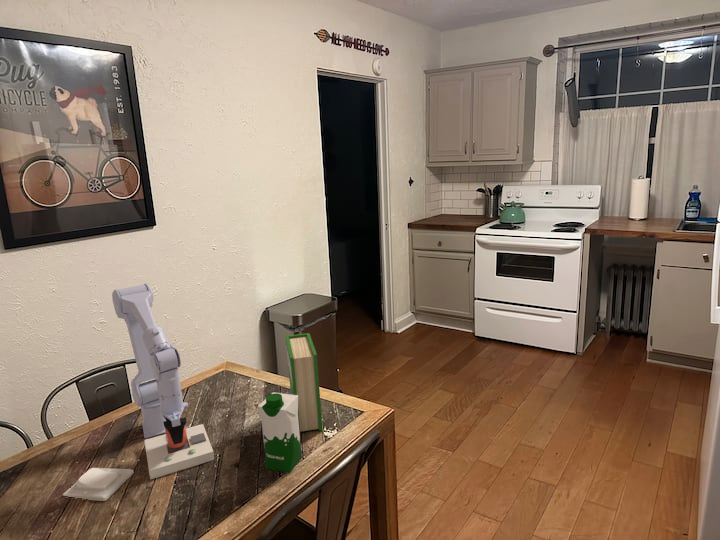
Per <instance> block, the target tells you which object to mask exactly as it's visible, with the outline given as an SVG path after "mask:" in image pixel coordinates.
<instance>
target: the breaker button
mask: <svg viewBox="0 0 720 540" xmlns="http://www.w3.org/2000/svg"><path fill="white" fill-rule="evenodd" d="M187 448H189V446H188V443H186V444H185V445H183V446H181V447H178V448H170V447H168V454H170V453H173V452H177V451H180V450H184V449H187Z"/></svg>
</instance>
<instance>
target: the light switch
mask: <svg viewBox="0 0 720 540" xmlns="http://www.w3.org/2000/svg"><path fill="white" fill-rule="evenodd" d="M134 473H135V472H134V470H133V469H131V468H109V467H108V468H107V467H106V468H105V467H92V468H89V469H88V470H87V471H85V472H84V473H83V474H82V475H81V476H80V477H78V479H77V481H75V483H74V484H73V485H71V486H70V487H71V488H70V487H69V488H68V489H67V490H66V491H65V492H63V493H62V494H63V495H64V496H68V497H75V498H74V499H77V498H82V499H81V500H86V499H88V501H98V502H99V501H100V502H106V501H107V500H108V499H109V498H111V496H113V495H114V493H115V492H116V491H117V490H118V489H120V488H121V486H122V485H124V483H125V482H127V480H128V479H129V478H131V476H133V474H134ZM68 497H67V498H68Z"/></svg>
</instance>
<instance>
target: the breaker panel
mask: <svg viewBox="0 0 720 540" xmlns="http://www.w3.org/2000/svg"><path fill="white" fill-rule="evenodd" d="M186 433H187V439H188V441H187V443H188V446H189V448H187V449H184V450H180V451H177V452H173V453H170V454H169V451H168V445H167V438H166V433H163V434H160V435H156V436H152V437H149V438H145V439H144V445H145V446H144V447H145V452H146V460H147V466H148V467H147V468H148V474H149V479H150V480H154V479H156V478H159V477H164V476H166V475H170V474H173V473H176V472H180V471H183V470H186V469H189V468H192V467H195V466H198V465H201V464H204V463H208V462H211V461H214V460H215V454H214V449H213V447H212V444H211V442H210V439H209V436H208V434H207V433H208V432H207V431H206V429H205V426H204V424H203V423H201V424H198V425H194V426H193V425H192V426H191V427H186Z"/></svg>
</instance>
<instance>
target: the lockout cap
mask: <svg viewBox="0 0 720 540" xmlns="http://www.w3.org/2000/svg"><path fill="white" fill-rule="evenodd" d="M186 428H187V427H186V425H185V426H184V430H183V441H182V443H178V444H174V443H173V441H172V438H171V435H170V433H169V431H168V430H167V429H166V428H165V432H166V433H165V434H166V438H167V445H168V447H170V448H178V447H181V446H183V445H185V444H186V443H187V441H188V439H187V433H186Z"/></svg>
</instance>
